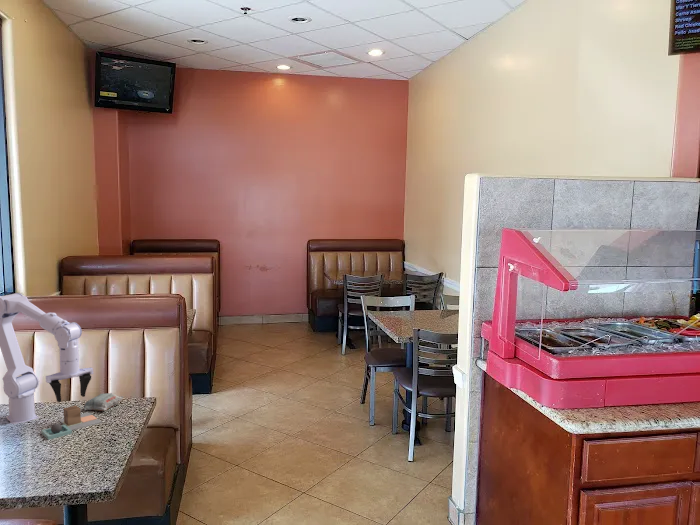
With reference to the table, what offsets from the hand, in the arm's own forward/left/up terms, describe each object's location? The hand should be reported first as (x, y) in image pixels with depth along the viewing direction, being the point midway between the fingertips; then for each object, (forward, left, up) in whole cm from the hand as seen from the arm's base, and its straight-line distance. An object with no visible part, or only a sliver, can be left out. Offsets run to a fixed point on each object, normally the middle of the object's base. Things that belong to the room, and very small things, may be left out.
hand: (71, 398), depth 187 cm
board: (0, +3, -9) cm, 10 cm away
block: (0, 0, -8) cm, 8 cm away
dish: (+5, -6, -9) cm, 12 cm away
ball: (+5, -6, -9) cm, 12 cm away
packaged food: (-8, +14, -10) cm, 19 cm away
